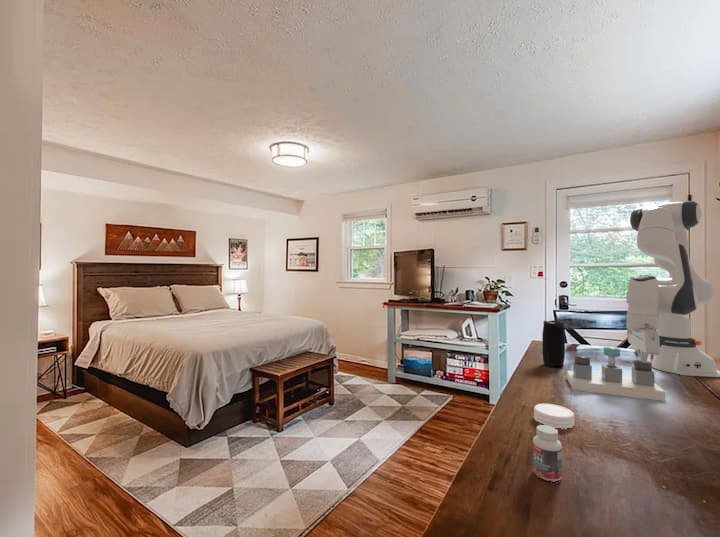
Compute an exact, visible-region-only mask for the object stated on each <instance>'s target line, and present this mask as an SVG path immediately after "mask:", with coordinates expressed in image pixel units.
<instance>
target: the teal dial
mask: <svg viewBox="0 0 720 537" xmlns="http://www.w3.org/2000/svg"><path fill="white" fill-rule="evenodd" d="M603 355H604V356H607V357H608V361H607V362H608V366H611V367H615V365H616V358H617V357H618V358H619V357H621V348H618V347H613V346H604V347H603Z"/></svg>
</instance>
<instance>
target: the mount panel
mask: <svg viewBox="0 0 720 537" xmlns="http://www.w3.org/2000/svg"><path fill="white" fill-rule="evenodd" d="M572 363H573V369H572V370H567V371H566V379H567V381H568V382H569V386H570V387H571V389H572V390H573V391H581V392H589V393H590V392H591V393H598V394H606V395H615V396H622V397H623V396H624V397H631V398H638V399H648V400H655V401H662V402H663V401H664V402H665V401H666V391H665V390H664V389H663V388H662V387H661V386H659V385H658V384H657V383H656V382H655V371H653V370H652V371H643V370H638V369H635V368H634V366H631V376H625V375H624V376H623V368H621V366H619V365H618V364H617V365H616V364H615V367H611V366H608V364H607V363H601V373H594V372H592V370H593V365H592V364H590V365H580V364H576V363H575V360H573V362H572Z"/></svg>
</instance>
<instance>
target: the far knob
mask: <svg viewBox="0 0 720 537" xmlns="http://www.w3.org/2000/svg"><path fill="white" fill-rule="evenodd" d="M574 361H575V363H576V364H580V365H591V357H590V356H588V355H582V354H576V355H574Z"/></svg>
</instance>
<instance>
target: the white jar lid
mask: <svg viewBox="0 0 720 537" xmlns="http://www.w3.org/2000/svg"><path fill="white" fill-rule="evenodd" d="M533 419H534V420H535V422H537V421H538V422H540V423H542V424H544V425H547V426H551V427H554V428H561V429H560V430H568V429H567V428H570V429H572V428H574V427H573V426H575V413H574V412H573V410H570V409H569V408H567V407H564V406H562V405H557V404H553V403H538V404H536V405H534V407H533ZM538 422H537V423H538ZM540 423H539V424H540ZM542 424H541V425H542ZM563 428H564V429H563Z"/></svg>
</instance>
